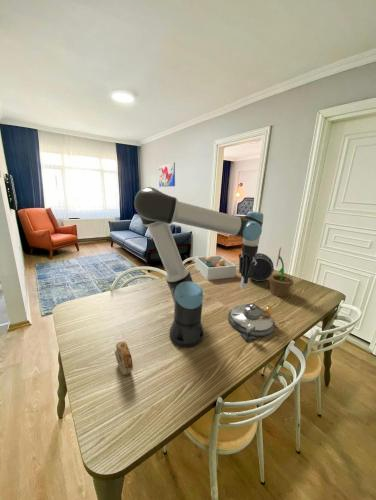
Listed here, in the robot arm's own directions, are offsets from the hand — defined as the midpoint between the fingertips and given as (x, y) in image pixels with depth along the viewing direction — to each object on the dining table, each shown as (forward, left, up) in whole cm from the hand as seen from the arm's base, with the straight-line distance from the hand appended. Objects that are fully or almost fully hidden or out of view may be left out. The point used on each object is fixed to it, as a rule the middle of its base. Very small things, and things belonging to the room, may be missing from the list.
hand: (243, 288), depth 108 cm
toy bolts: (+12, +54, -15) cm, 57 cm away
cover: (+1, -9, -11) cm, 14 cm away
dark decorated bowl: (+36, +33, -15) cm, 51 cm away
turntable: (0, -9, -12) cm, 15 cm away
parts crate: (+11, +53, -14) cm, 56 cm away
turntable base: (0, -9, -14) cm, 17 cm away
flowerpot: (+37, +12, -15) cm, 42 cm away
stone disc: (-61, -19, -15) cm, 65 cm away
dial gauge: (-8, -18, -14) cm, 24 cm away
